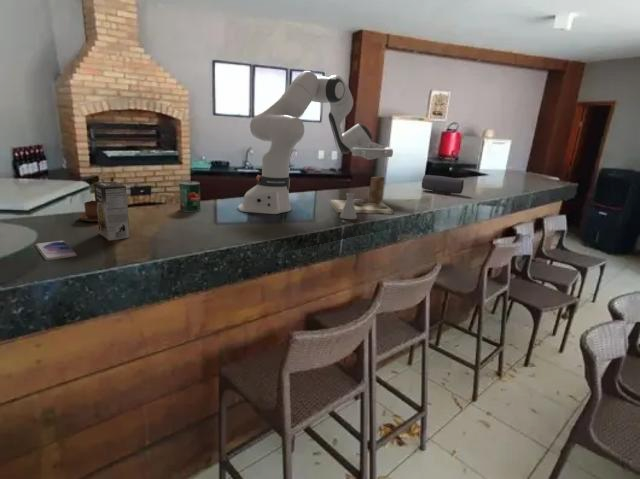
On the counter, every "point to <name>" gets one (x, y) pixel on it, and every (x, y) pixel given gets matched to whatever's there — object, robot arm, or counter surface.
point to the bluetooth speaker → (442, 184)
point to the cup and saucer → (89, 212)
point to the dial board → (363, 207)
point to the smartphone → (55, 250)
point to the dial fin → (373, 192)
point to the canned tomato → (189, 196)
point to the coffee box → (112, 210)
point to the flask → (349, 208)
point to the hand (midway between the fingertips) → (375, 154)
